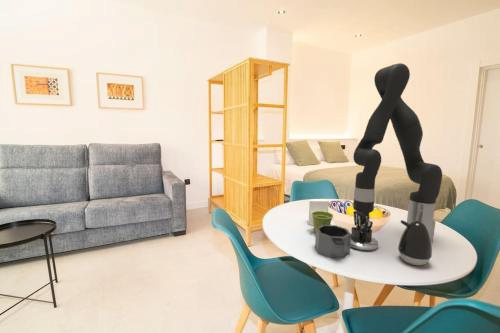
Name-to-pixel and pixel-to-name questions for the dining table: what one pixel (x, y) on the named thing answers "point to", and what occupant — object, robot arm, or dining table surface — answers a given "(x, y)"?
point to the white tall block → (317, 208)
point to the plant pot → (321, 218)
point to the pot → (332, 241)
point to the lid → (367, 245)
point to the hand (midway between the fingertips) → (360, 239)
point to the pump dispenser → (415, 243)
